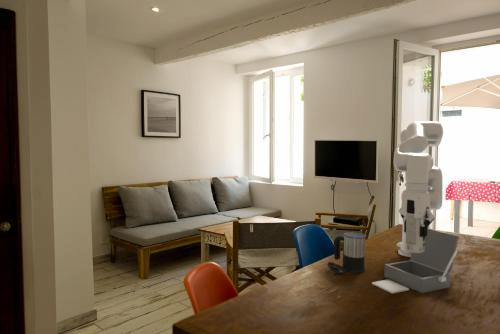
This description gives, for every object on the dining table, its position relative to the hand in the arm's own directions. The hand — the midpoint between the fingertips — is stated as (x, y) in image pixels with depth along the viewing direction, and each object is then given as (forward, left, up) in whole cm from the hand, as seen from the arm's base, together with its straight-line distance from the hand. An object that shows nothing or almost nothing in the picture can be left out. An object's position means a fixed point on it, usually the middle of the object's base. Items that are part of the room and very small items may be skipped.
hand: (415, 233), depth 142 cm
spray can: (0, 0, -7) cm, 7 cm away
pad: (0, -12, -18) cm, 22 cm away
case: (+1, +3, -18) cm, 19 cm away
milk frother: (-20, -16, -19) cm, 32 cm away
